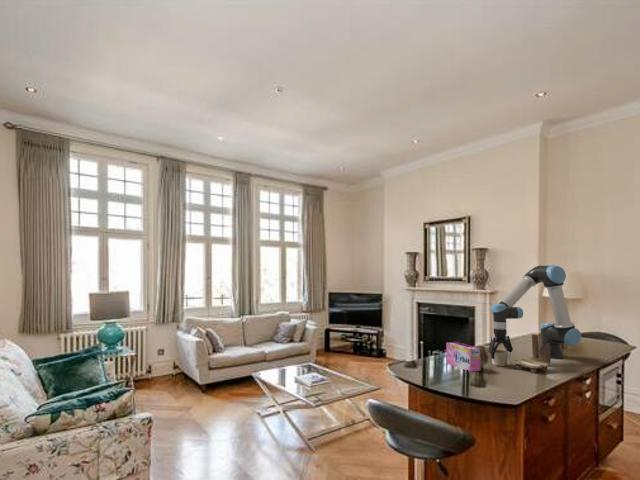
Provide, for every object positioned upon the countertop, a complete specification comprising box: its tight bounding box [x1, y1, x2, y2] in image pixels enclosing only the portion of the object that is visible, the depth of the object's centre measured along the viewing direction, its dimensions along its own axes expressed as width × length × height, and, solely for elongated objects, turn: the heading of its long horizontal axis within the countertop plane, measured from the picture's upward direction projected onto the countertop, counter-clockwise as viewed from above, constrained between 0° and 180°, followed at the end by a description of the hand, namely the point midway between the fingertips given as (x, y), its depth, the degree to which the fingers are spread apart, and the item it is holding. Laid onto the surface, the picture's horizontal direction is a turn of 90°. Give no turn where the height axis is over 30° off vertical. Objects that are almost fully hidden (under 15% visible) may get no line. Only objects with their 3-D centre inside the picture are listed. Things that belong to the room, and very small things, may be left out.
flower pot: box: [495, 349, 509, 367], centre depth 248 cm, size 9×9×9 cm
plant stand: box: [511, 358, 552, 374], centre depth 236 cm, size 15×15×4 cm
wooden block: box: [530, 334, 552, 365], centre depth 250 cm, size 4×11×18 cm, turn 26°
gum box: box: [446, 341, 482, 372], centre depth 245 cm, size 24×8×14 cm, turn 20°
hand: (501, 362), depth 248 cm, fingers open, 12 cm apart
